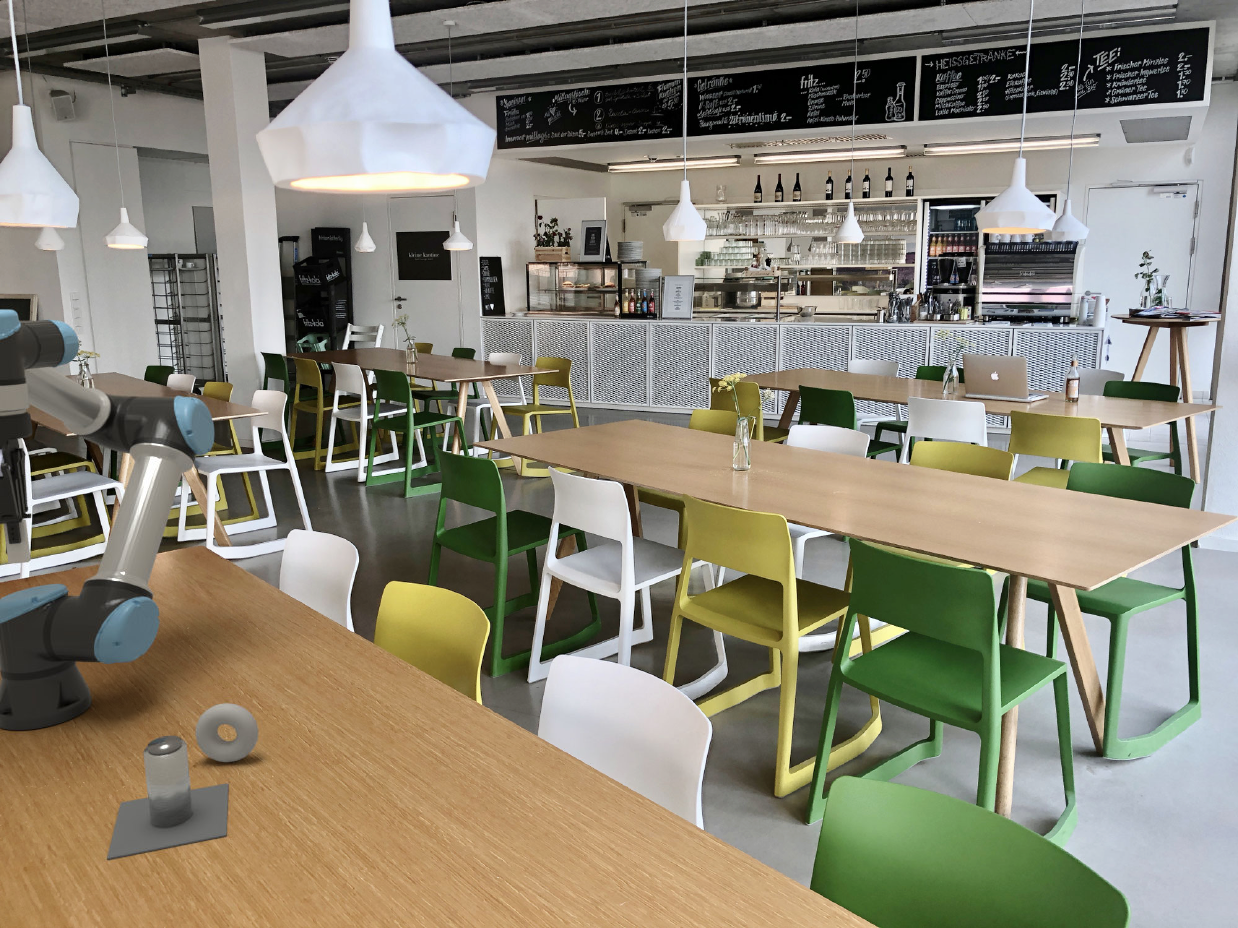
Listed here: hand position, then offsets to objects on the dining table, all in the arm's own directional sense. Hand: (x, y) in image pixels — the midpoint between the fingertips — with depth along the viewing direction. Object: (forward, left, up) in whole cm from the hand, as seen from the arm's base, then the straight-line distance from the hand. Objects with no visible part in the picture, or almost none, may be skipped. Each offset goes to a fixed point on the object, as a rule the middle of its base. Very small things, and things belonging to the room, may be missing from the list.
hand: (19, 561), depth 144 cm
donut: (+10, +28, -35) cm, 46 cm away
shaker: (+25, +21, -34) cm, 47 cm away
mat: (+26, +21, -34) cm, 47 cm away
